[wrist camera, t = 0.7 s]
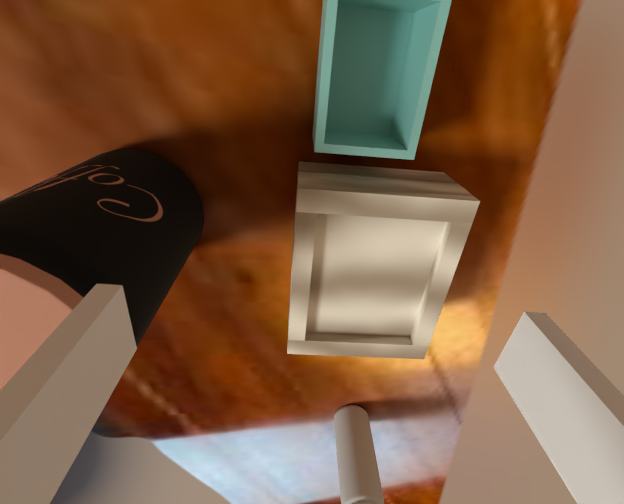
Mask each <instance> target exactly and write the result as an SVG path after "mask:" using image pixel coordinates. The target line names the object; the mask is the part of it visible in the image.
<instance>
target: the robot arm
mask: <svg viewBox="0 0 624 504" xmlns="http://www.w3.org/2000/svg"><path fill="white" fill-rule="evenodd" d="M136 349H137V347H136V342H135V338H134V334H133V329H132V325H131V321H130V316H129V312H128V307H127V303H126V299H125V294H124V290H123V286H122V285H110V284H96V285H95V286H94V287H93V288H92V289H91V290H90V292H89V293H88V294H87V295H86V296H85V297H84V298H83V299H82V300H81V302H80V303H79V304H78V305H77V306H76V307H75V308H74V309H73V310H72V312H71V313H70V314H69V315H68V316H67V317H66V318H65V319H64V320H63V321H62V323H61V324H60V325H59V326H58V327H57V328H56V329H55V330H54V331H53V333H52V334H51V335H50V336H49V337H48V338H47V339H46V340H45V341H44V343H43V344H42V345H41V346H40V347H39V348H38V349H37V350H36V351H35V353H34V354H33V355H32V356H31V357H30V358H29V359H28V360H27V361H26V363H25V364H24V365H23V366H22V367H21V368H20V369H19V370H18V371H17V373H16V374H15V375H14V376H13V377H12V378H11V379H10V380H9V381H8V383H7V384H6V385H5V386H4V387H3V388H2V389H1V390H0V504H50V502H51V500H52V498H53V497H54V495H55V493H56V491H57V490H58V488H59V486H60V484H61V483H62V481H63V479H64V477H65V476H66V474H67V472H68V470H69V468H70V467H71V465H72V463H73V461H74V459H75V458H76V456H77V454H78V452H79V451H80V449H81V447H82V445H83V444H84V442H85V440H86V438H87V436H88V435H89V433H90V431H91V429H92V428H93V426H94V424H95V422H96V420H97V419H98V417H99V415H100V413H101V412H102V410H103V408H104V406H105V404H106V403H107V401H108V399H109V397H110V396H111V394H112V392H113V390H114V389H115V387H116V385H117V383H118V381H119V380H120V378H121V376H122V374H123V373H124V371H125V369H126V367H127V365H128V364H129V362H130V360H131V358H132V357H133V355H134V353H135V351H136ZM494 369H495V370H496V372H497V374H498V375H499V377H500V378H501V380H502V382H503V384H504V385H505V387H506V388H507V390H508V392H509V393H510V395H511V397H512V398H513V400H514V401H515V403H516V405H517V406H518V408H519V410H520V411H521V413H522V415H523V416H524V418H525V419H526V421H527V423H528V424H529V426H530V428H531V429H532V431H533V432H534V434H535V436H536V437H537V439H538V441H539V442H540V444H541V445H542V447H543V449H544V450H545V452H546V453H547V455H548V457H549V459H550V460H551V462H552V463H553V465H554V467H555V468H556V470H557V472H558V473H559V475H560V476H561V478H562V480H563V481H564V483H565V484H566V486H567V488H568V489H569V491H570V492H571V494H572V496H573V497H574V499H575V501H576V503H577V504H624V396H623V394H622V393H621V392H620V391H619V390H618V389H617V388H616V387H615V386H614V385H613V384H612V383H611V382H610V381H609V380H608V379H607V378H606V376H605V375H604V374H603V373H602V372H601V371H600V370H599V369H598V368H597V367H596V366H595V365H594V364H593V363H592V362H591V361H590V360H589V359H588V357H587V356H586V355H585V354H584V353H583V352H582V351H581V350H580V349H579V348H578V347H577V346H576V345H575V344H574V343H573V342H572V341H571V339H570V338H569V337H568V336H567V335H566V334H565V333H564V332H563V331H562V330H561V329H560V328H559V327H558V326H557V325H556V324H555V323H554V322H553V320H552V319H551V318H550V317H549V316H548V315H547V314H546V313H537V312H536V313H535V312H524V313H523V315H522V317H521V318H520V320H519V322H518V324H517V326H516V328H515V329H514V331H513V333H512V335H511V337H510V338H509V340H508V342H507V344H506V346H505V347H504V349H503V351H502V353H501V355H500V356H499V358H498V360H497V362H496V364H495V366H494Z"/></svg>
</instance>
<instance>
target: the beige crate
mask: <svg viewBox="0 0 624 504" xmlns="http://www.w3.org/2000/svg"><path fill="white" fill-rule="evenodd" d="M479 204H480V201H479V200H478V199H477V198H476V197H474V196H473V195H472V194H471V193H469V192H468V191H467V190H466V189H464V188H463V187H462V186H461V185H459V183H458V182H456V181H454V180H453V179H452V178H451V177H449V176H448V175H447V174H446V173H444V172H434V171H421V170H408V169H394V168H381V167H368V166H355V165H342V164H329V163H315V162H302V161H299V164H298V175H297V191H296V207H295V223H294V239H293V255H292V271H291V287H290V303H289V320H288V325H289V328H288V348H287V354H306V355H332V356H357V357H383V358H408V359H424V358H425V355H426V352H427V349H428V346H429V344H430V341H431V338H432V335H433V332H434V330H435V327H436V324H437V321H438V318H439V316H440V313H441V310H442V307H443V304H444V302H445V299H446V296H447V293H448V290H449V288H450V285H451V282H452V279H453V276H454V274H455V271H456V268H457V265H458V262H459V260H460V257H461V254H462V251H463V248H464V246H465V243H466V240H467V237H468V234H469V232H470V229H471V226H472V223H473V220H474V218H475V215H476V212H477V209H478V206H479Z"/></svg>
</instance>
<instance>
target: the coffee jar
mask: <svg viewBox="0 0 624 504" xmlns="http://www.w3.org/2000/svg"><path fill="white" fill-rule="evenodd" d="M203 224H204V215H203V206H202V202H201V200H200V198H199V195H198V193H197V191H196V189H195V187H194V185H193V184H192V182H191V181H190V180H189V179H188V178H187V177H186V175H185V174H184V173H183V172H182V171H181V170H180V169H179V168H177V167H176V166H174V165H173V164H172V163H170V162H169V161H167V160H166V159H164V158H162V157H160V156H157V155H154V154H151V153H149V152H146V151H143V150H136V149H116V150H113V151H109V152H106V153H102V154H100V155H98V156H95V157H93V158H91V159H89V160H87V161H85V162H83V163H81V164H78V165H76V166H74V167H72V168H70V169H68V170H66V171H64V172H62V173H59V174H57V175H55V176H53V177H51V178H49V179H47V180H45V181H42V182H40V183H38V184H36V185H34V186H32V187H30V188H28V189H26V190H23V191H21V192H19V193H17V194H15V195H13V196H11V197H9V198H6V199H4V200H2V201H0V390H1V389H2V388H3V387H4V386H5V385H6V384H7V383H8V381H9V380H10V379H11V378H12V377H13V376H14V375H15V374H16V373H17V371H18V370H19V369H20V368H21V367H22V366H23V365H24V364H25V363H26V361H27V360H28V359H29V358H30V357H31V356H32V355H33V354H34V353H35V351H36V350H37V349H38V348H39V347H40V346H41V345H42V344H43V343H44V341H45V340H46V339H47V338H48V337H49V336H50V335H51V334H52V333H53V331H54V330H55V329H56V328H57V327H58V326H59V325H60V324H61V323H62V321H63V320H64V319H65V318H66V317H67V316H68V315H69V314H70V313H71V312H72V310H73V309H74V308H75V307H76V306H77V305H78V304H79V303H80V302H81V300H82V299H83V298H84V297H85V296H86V295H87V294H88V293H89V292H90V290H91V289H92V288H93V287H94V286H95V285H96V284H110V285H122V286H123V290H124V294H125V299H126V303H127V307H128V312H129V316H130V321H131V325H132V329H133V334H134V338H135V342H136V347H137V346H138V344H139V342H140V340H141V339H142V337H143V335H144V333H145V332H146V330H147V328H148V326H149V325H150V323H151V321H152V319H153V318H154V316H155V314H156V312H157V311H158V309H159V307H160V306H161V304H162V302H163V300H164V299H165V297H166V295H167V293H168V292H169V290H170V288H171V286H172V285H173V283H174V281H175V279H176V278H177V276H178V274H179V272H180V271H181V269H182V267H183V266H184V264H185V262H186V260H187V259H188V257H189V255H190V253H191V252H192V250H193V248H194V246H195V245H196V243H197V241H198V239H199V238H200V235H201V231H202V228H203Z"/></svg>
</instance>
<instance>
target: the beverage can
mask: <svg viewBox="0 0 624 504" xmlns="http://www.w3.org/2000/svg"><path fill="white" fill-rule="evenodd" d="M334 427H335V438H336V450H337V461H338V472H339V484H340V495H341V504H384V499H383V493H382V488H381V483H380V477H379V472H378V466H377V461H376V456H375V450H374V445H373V439H372V434H371V429H370V423H369V418H368V414H367V412H366V411H365V410H364V409H363V408H361V407H360V406H357V405H347V406H344V407H341V408H340V409H339V410H338V411H337V412H336V414H335V416H334Z"/></svg>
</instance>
